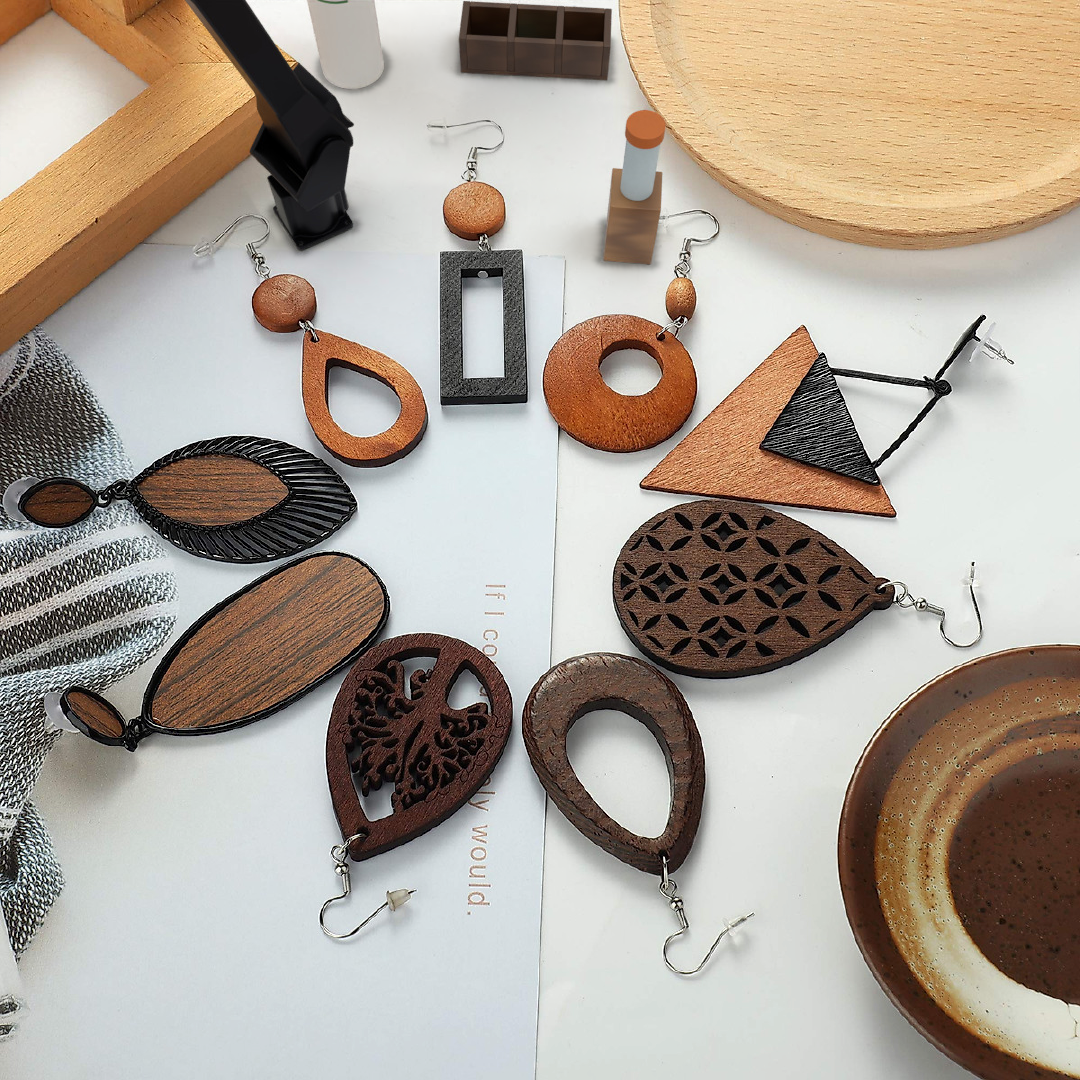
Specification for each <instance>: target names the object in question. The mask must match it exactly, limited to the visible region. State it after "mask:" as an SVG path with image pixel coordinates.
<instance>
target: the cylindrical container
mask: <svg viewBox="0 0 1080 1080" xmlns="http://www.w3.org/2000/svg"><path fill="white" fill-rule="evenodd" d="M306 3H307V7H308V12H309V15H310V16H309V17H310V20H311V26H312V30H313V34H314V38H315V43H316V47H317V53H318V57H319V61H320V66H321V71H322V74H323V76H324V77H325V79H326V81H328V83H330V84H332V85H333V86H335V87H338V88H342V89H346V90H347V89H348V90H357V89H361V88H366V87H368V86H370V85H372V84H374V83H375V82H376V81H378V79H379V78H381V76H382V74H383V72H384V70H385V59H384V53H383V47H382V41H381V35H380V27H379V22H378V21H379V20H378V15H377V14H378V13H377V8H376V1H375V0H306Z"/></svg>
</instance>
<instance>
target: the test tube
mask: <svg viewBox="0 0 1080 1080" xmlns="http://www.w3.org/2000/svg"><path fill="white" fill-rule="evenodd" d="M666 127H667V125H666V121H665V119H664V117H662V115H661V114H659V113H657V112H656V111H653V110H650V109H641V110H636V111H634V112H632V113H631V114H630V115H629V116H627V119H626V123H625V129H624V136H625V146H624V147H625V148H624V155H623V162H622V169H623V170H622V178H621V186H620V189H621V192H622V194H623V195H624V196H625V197H626V198H628V199H630V200H633V201H642V200H645V199H647V198H648V197H649V196H650V195H651V194H652V191H653V186H654V180H655V174H656V171H657V166H658V161H659V155H660V149H661V144H662V143H663V141H664V139H665V134H666V133H665V132H666Z"/></svg>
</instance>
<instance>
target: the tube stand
mask: <svg viewBox="0 0 1080 1080" xmlns="http://www.w3.org/2000/svg"><path fill="white" fill-rule="evenodd" d="M611 169H612V170H611V178H610V187H609V195H608V204H607V213H606V221H605V234H604V246H603V261H604V262H617V263H628V264H641V265H651V264H652V261H653V255H654V251H655V250H654V249H655V246H656V245H655V244H656V241H657V240H656V239H657V234H658V228H659V223H660V218H661V212H662V196H663V193H662V191H663V171H657V170H656V174H655V180H654V186H653V191H652V194H651V195H650V196H649V197H648V198H647V199H645V200H642V201H633V200H630V199H628V198H626V197H625V196H624V195H623V194H622V192H621V189H620V186H621V178H622V170H623V168H617V167H613V168H611Z"/></svg>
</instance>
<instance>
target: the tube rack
mask: <svg viewBox="0 0 1080 1080" xmlns="http://www.w3.org/2000/svg"><path fill="white" fill-rule="evenodd" d="M612 17H613V9H612V8H607V7H606V8H605V7H588V6H568V5H549V4H533V3H532V4H531V3H529V4H528V3H509V2H491V1H474V0H473V1H470V0H463V1H462V9H461V17H460V24H459V25H460V26H459V34H458V49H459V64H460V73H462V74H479V75H481V74H482V75H500V76H521V77H538V78H556V79H557V78H558V79H574V80H575V79H576V80H594V81H608V78H609V69H610V59H611V58H610V57H611V45H612Z"/></svg>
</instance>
